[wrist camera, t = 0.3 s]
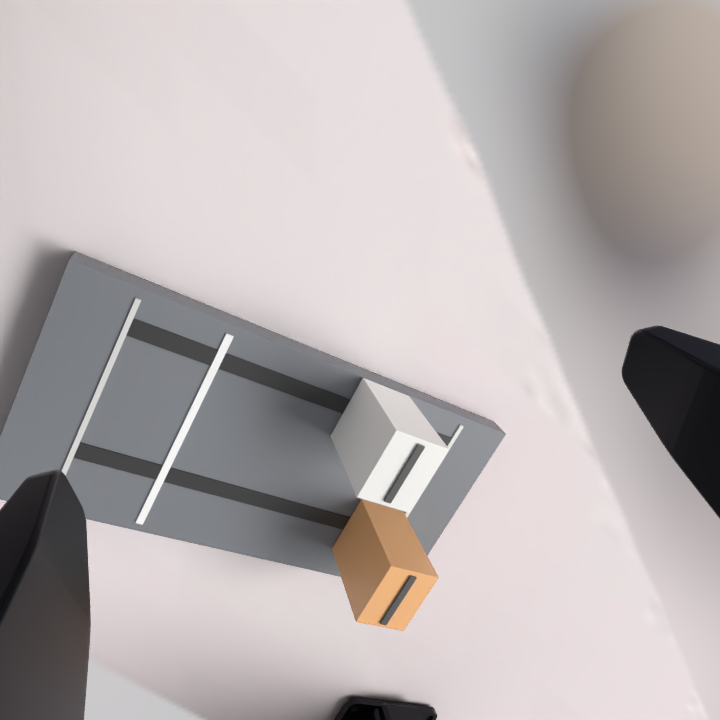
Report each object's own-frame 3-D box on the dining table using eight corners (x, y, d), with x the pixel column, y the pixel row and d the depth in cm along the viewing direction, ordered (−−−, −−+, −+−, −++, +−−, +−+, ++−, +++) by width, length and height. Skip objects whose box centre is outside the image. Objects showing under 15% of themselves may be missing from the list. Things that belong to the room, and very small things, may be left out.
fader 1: (376, 451, 26) (410, 514, 22) (330, 435, 25) (357, 499, 21) (408, 396, 25) (450, 451, 21) (362, 377, 24) (397, 431, 20)
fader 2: (373, 559, 29) (404, 633, 25) (331, 549, 28) (356, 623, 24) (403, 511, 28) (439, 579, 24) (361, 499, 27) (392, 568, 23)
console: (397, 574, 31) (404, 591, 30) (-13, 476, 23) (-23, 495, 22) (493, 421, 29) (506, 434, 28) (75, 251, 21) (68, 260, 20)
